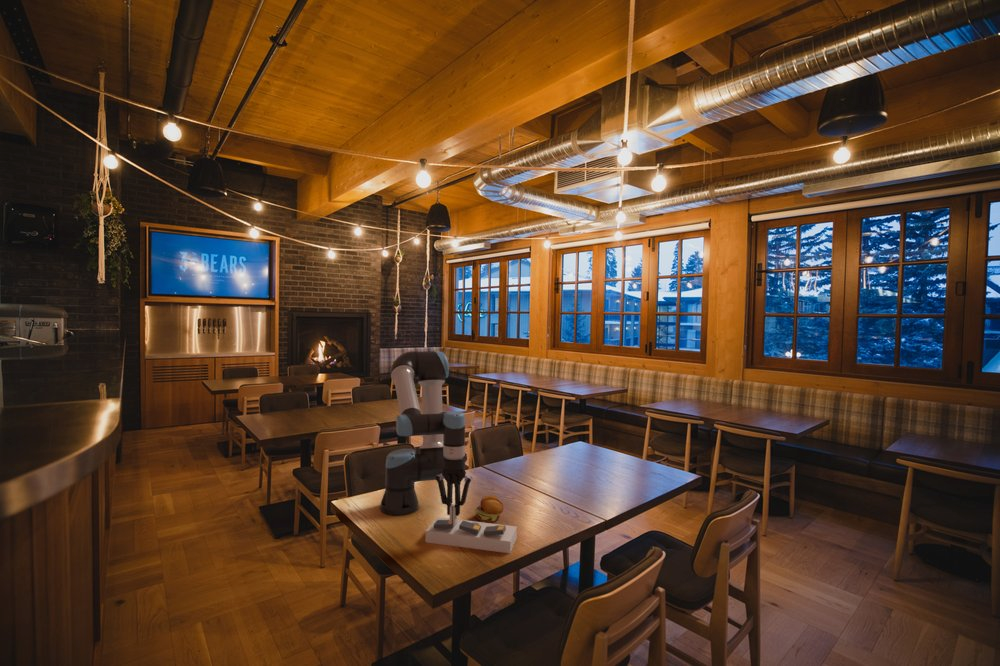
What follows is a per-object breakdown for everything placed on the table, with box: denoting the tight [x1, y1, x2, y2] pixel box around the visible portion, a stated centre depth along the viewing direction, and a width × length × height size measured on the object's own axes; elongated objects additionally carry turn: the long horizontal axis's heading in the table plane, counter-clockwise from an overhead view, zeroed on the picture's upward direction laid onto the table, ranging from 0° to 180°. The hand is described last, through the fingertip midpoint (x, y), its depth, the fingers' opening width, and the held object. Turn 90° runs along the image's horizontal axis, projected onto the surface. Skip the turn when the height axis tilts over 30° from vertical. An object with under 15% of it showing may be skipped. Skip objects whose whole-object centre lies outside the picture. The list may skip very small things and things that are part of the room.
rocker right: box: [484, 526, 506, 536], centre depth 161 cm, size 7×4×2 cm, turn 78°
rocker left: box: [434, 520, 454, 529], centre depth 165 cm, size 7×4×2 cm, turn 78°
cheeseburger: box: [474, 494, 504, 523], centre depth 184 cm, size 10×11×10 cm
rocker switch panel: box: [425, 516, 518, 554], centre depth 166 cm, size 30×12×4 cm, turn 78°
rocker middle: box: [459, 520, 481, 535], centre depth 163 cm, size 7×4×2 cm, turn 78°
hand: (453, 524), depth 164 cm, fingers closed
